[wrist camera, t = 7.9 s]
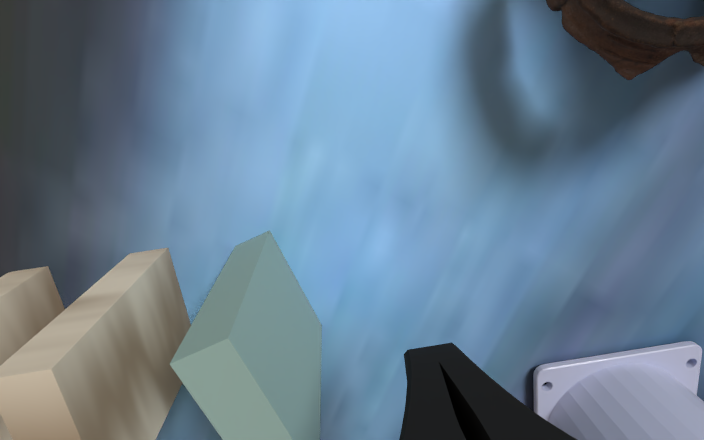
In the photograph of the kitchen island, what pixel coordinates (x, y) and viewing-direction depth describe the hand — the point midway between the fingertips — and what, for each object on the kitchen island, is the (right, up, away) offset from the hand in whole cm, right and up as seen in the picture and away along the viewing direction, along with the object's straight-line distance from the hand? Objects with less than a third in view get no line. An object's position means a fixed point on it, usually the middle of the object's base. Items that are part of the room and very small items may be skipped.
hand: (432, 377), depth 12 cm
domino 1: (-10, +1, +7) cm, 12 cm away
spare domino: (-5, +1, +7) cm, 9 cm away
